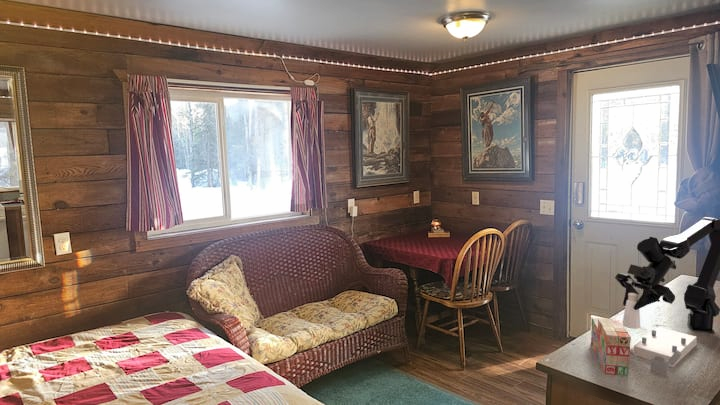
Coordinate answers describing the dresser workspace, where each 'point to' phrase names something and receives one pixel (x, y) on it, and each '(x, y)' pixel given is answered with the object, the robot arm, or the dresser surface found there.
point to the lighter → (663, 363)
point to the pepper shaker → (631, 312)
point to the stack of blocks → (611, 345)
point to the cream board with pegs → (664, 344)
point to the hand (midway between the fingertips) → (629, 307)
